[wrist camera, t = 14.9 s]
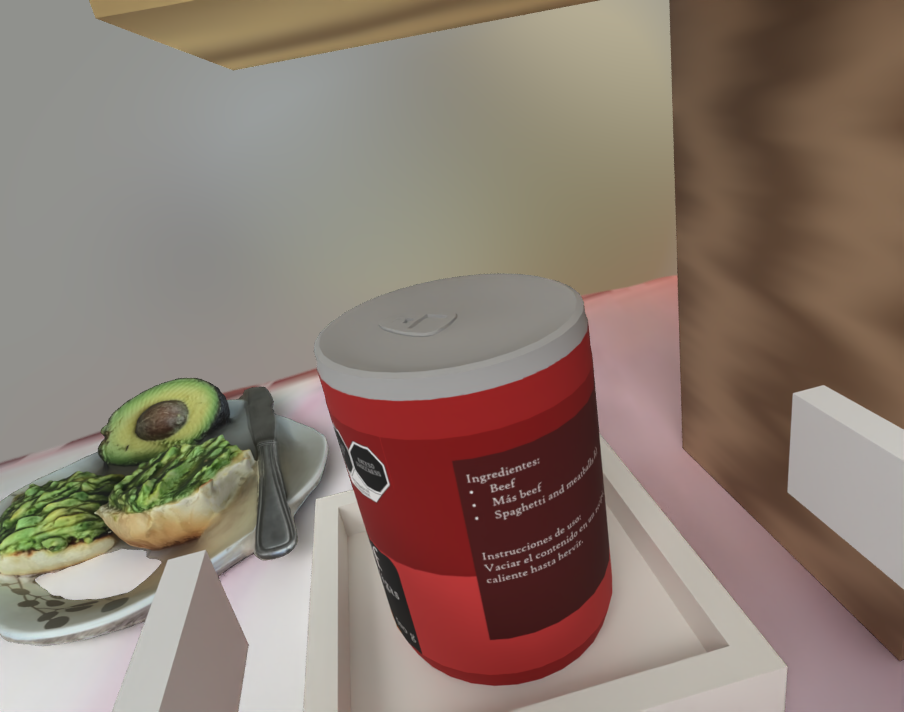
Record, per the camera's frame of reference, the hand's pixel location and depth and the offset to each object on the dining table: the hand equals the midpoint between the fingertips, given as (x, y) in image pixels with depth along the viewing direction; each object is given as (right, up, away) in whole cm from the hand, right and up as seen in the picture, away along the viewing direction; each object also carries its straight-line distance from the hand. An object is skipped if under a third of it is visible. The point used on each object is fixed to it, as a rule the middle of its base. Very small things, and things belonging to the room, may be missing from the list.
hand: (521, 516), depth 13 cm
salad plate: (-17, -5, +19) cm, 26 cm away
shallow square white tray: (0, -6, +9) cm, 10 cm away
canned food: (0, -5, +9) cm, 10 cm away
